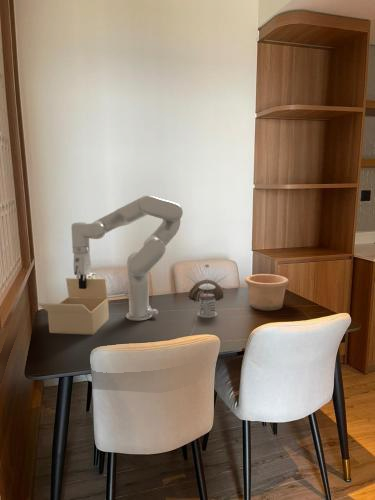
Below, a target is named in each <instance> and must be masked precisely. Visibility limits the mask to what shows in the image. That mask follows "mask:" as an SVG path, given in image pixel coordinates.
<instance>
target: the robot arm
mask: <svg viewBox="0 0 375 500" xmlns="http://www.w3.org/2000/svg"><path fill="white" fill-rule="evenodd" d="M183 213H184V212H183V208H182V206H181V205H180V204H179V203H176V202H172V201H169V200H165V199H163V198H160V197H159V198H158V197H155V196H153V195H150V194H146V195H143V196H141V197H139V198H137V199H135V200H133V201H131V202H128V203H127V204H125V205H124V206H121V207H119V208H117V209H116V210H114V211H113V212H110V213H108V214H106V215H104V216H102V217H101V218H98V219H97V220H95V221H93V222H92V223H87V222H74V223H72V224H71V227H70V228H71V243H72V246H71V247H72V248H71V249H72V254H73V275H74V276H75V277H76V278H78V281H79V289H86V288H87V280H86V279H87V274H88V273H91V272H92V262H91V254H90V239H93V240H101V239H103V238H104V237H105V235H106V234H107V233H109V232H112V231H113V230H116V229H117V228H121V227H123V226H128V225H130V224H132V223H135V222H136V221H138V220H141V219H142V218H144V217H145V216H146V217H147V216H150V217H151V216H152V217H153V218H158V219H161V220H162V222H161V224H160V225H159V226H158V227H157V228H156V229H155V230H154V232H152V233H151V234H150V236H148V237H147V238H146V239H145V240H144V243H143V246H142V247H141V249H140V250H138V251H136V252H135V251H133V252H132V253H131V254H129V256H128V257H127V261H126V267H127V280H128V283H127V284H128V286H127V287H128V288H127V289H128V306H129V307H128V308H129V309H128V311H129V312H127V313H126V315H125V317H126V319H128V321H137V322H139V321H141V322H142V321H146V320H148V319H151V318H152V317H153V315H158V314H159V311H158V309H156V308H151V305H150V300H149V299H150V296H149V295H150V294H149V271H151V270H152V269H153V268H154V266H155V265H156V264H157V263H158V262H159V261H161V259H162V257H163V256H164V255H165V253H166V246H167V245H168V244H169V243H170V242H171V240H172V239H173V238H174V237H175V236H176V234H177V233H178V232H179V230H180V226H181V218H182V217H183Z"/></svg>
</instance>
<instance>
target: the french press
mask: <svg viewBox="0 0 375 500" xmlns="http://www.w3.org/2000/svg"><path fill="white" fill-rule="evenodd" d="M204 267H205V268H209V267H210V264H205V265H204ZM199 288H200V289H202V290H212V289H215V286H214V285H212V284H208V283H207V284H203V285H201V286H199ZM200 292H201V291H200ZM200 292H199V293H200ZM199 293H198V294H199ZM202 293H203V294H202ZM202 293H201V294H200V298H199V301H196V303H197V305H198V306H199V308H198V309H199V311H198V313H197V316H199V317H200V318H214V317H216V316H217V315H218V313H217V312H216V300H215V297H214V296H215V295H214V294H211V293H204V292H202ZM197 298H198V296H197ZM201 299H203V301H202V300H201Z"/></svg>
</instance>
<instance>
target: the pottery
mask: <svg viewBox="0 0 375 500" xmlns="http://www.w3.org/2000/svg"><path fill="white" fill-rule="evenodd" d="M244 280H245V281H244V282H245V283H246V284H247V290H248V291H247V292H248V298H249V305H250V307H252V308H253V309H256V310H260V311H277V310H280V309H282V308H283V306H284V305H283V304H284V300H285V293H286V288H287V285H289V282H290V281H289V279H288V278H287V277H286V276H283V275H277V274H273V273H272V274H271V273H257V274H251V275H248V276H246V277H245V278H244Z"/></svg>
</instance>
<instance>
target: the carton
mask: <svg viewBox="0 0 375 500" xmlns="http://www.w3.org/2000/svg"><path fill="white" fill-rule="evenodd" d="M108 298H109V297H107V298H80V297H69V296H68V297H66V298H64V299H63V300H61V301H60V302H59V303H58V304H83V305H84V306H85V307H86V308H87V309H88V310H89V311H90V312H91V313H66V312H48V311H47V318H48V319H47V320H48V330H49V334H69V335H72V334H73V335H94V334H96V333H97V332H98V330H100V329H101V327H103V326H104V324H106V322H107V321H108V320H109V319H110V315H109V309H110V308H109V299H108Z"/></svg>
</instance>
